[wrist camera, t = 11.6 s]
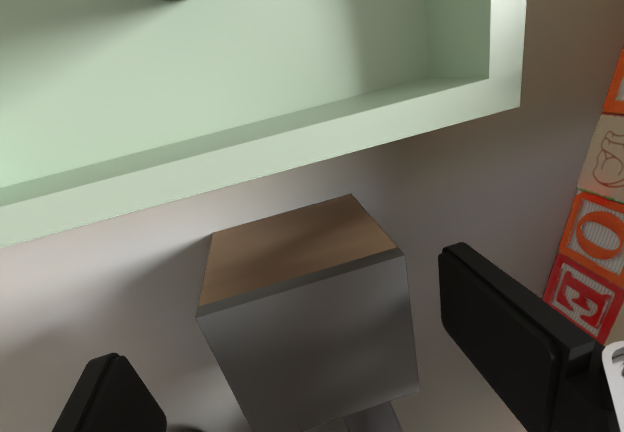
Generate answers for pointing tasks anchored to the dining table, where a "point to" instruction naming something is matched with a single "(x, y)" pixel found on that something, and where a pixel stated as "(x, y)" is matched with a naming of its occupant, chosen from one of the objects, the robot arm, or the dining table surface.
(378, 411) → the cart
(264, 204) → the dining table surface
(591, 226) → the stack of blocks
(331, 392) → the block
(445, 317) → the robot arm
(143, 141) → the tray
